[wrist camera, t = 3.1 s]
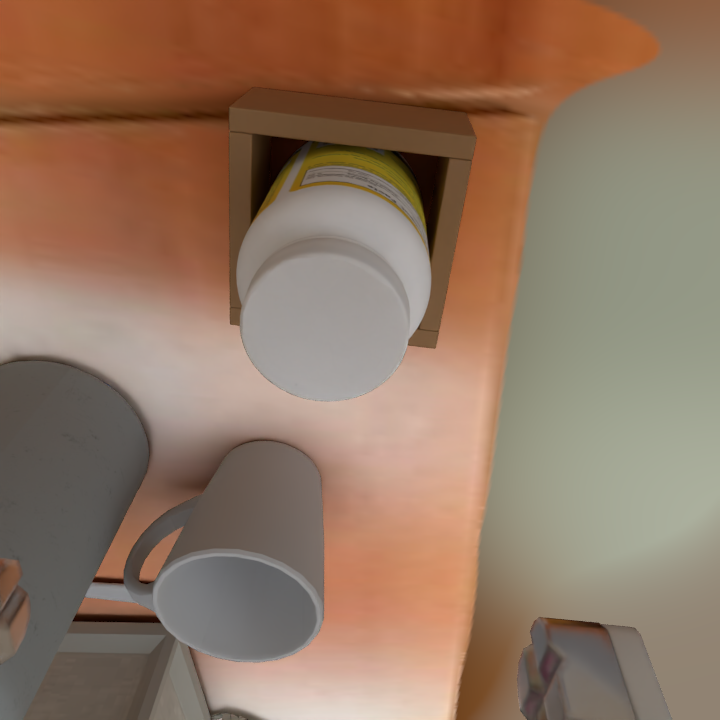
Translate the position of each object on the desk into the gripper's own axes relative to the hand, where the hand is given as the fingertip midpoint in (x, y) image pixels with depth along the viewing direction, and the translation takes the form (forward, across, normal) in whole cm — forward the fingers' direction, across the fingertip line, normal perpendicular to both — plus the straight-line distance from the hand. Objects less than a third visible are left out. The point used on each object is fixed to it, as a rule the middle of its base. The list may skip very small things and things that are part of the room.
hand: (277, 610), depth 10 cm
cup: (+20, +4, +16) cm, 26 cm away
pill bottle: (+20, 0, 0) cm, 20 cm away
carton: (+20, 0, 0) cm, 20 cm away
